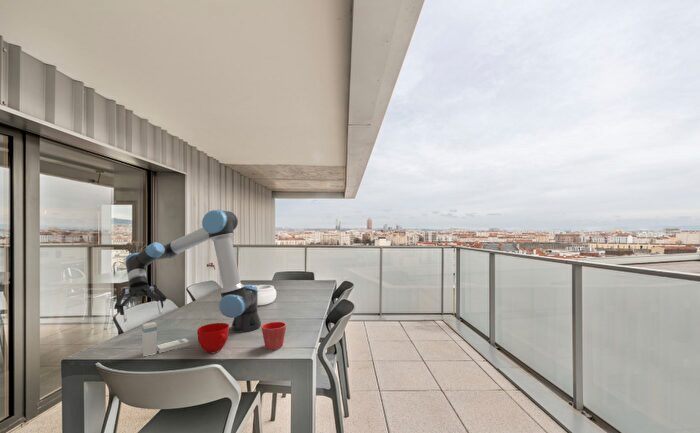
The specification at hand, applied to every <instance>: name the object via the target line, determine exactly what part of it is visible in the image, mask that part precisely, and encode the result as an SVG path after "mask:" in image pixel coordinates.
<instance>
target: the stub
mask: <svg viewBox="0 0 700 433" xmlns="http://www.w3.org/2000/svg"><path fill="white" fill-rule="evenodd" d="M141 331H142V332H141V335H142V336H141V354H142V353H143V355H144V356H146V355H149V354H153V353H158V352H157V345H158V342H157V340H158V339H157V337H158V335H157V334H158V332H157V331H158V324H157V322H156V321H152V322H146V323H145V322H144V323H142V327H141ZM143 355H142V356H143ZM144 356H143V357H144Z"/></svg>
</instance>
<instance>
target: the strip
mask: <svg viewBox="0 0 700 433" xmlns="http://www.w3.org/2000/svg"><path fill="white" fill-rule="evenodd" d="M186 346H187V347H190V341H189V340H188V339H187V338H181V339H176V340H173V341H169V342H165V343H161V344H157V350H158V352H159V353H160V352H163V351H168V350H172V349H175V350H178V349H177V348H179V349H183V348H186ZM182 347H183V348H182ZM172 351H173V350H172ZM158 352H157V353H158ZM168 352H169V351H168ZM159 353H158V354H159Z"/></svg>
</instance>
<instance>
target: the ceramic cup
mask: <svg viewBox="0 0 700 433" xmlns="http://www.w3.org/2000/svg"><path fill="white" fill-rule="evenodd" d="M229 331H230V325H229V324H228V323H225V322H216V323H210V324H204V325H201V326H200V327H198V328H197V330H196V335H197V341H198V344H199V346H200V348H201V349H202V350H203V351H204V352H205V353H206V352H208V353H207V354H213V353H212V352H214V353H218V352H221V351H222V348H223V347H224V346H225V345H226V344H227V341H228V338H229V333H230V332H229ZM217 351H218V352H217Z"/></svg>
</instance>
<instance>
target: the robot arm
mask: <svg viewBox="0 0 700 433" xmlns="http://www.w3.org/2000/svg"><path fill="white" fill-rule="evenodd" d="M238 223H239V219H238V217H237V215H236V214H235V213H233V212H232V211H228V210H221V209H214V210H213V209H212V210H209V211H207V212H206V213H205V215H204V216H203V218H202V220H201V225H202V227H201V228H197V229H196V230H194V231H192V232H190V233H188V234H186V235H183V236H181V237H179V238H177V239H175V240H173V241H171V242H169V243H166V244H162V243H160V242H158V241H155V242H152V243H150V244H149V245H147V246H146V247H145V248H144V249H142V250H141V251H140V252H133V253H131V254H128V255H127V256H126V258H125V268H126V272H127V273H126V275H127V281H128V288H129V289H126V288H122V289H121V292H120V296H119V297H118V298H117V301H116V302H115V303H114V308H113V309H114V310H118V311H119V315H120V316H122V317H123V323H126V322H127V320H128V315H127V308H126V306H127V305H128V304H129V303H130V301H132V300H133V299H134V298H140V297H147V298H149V299H152V300H153V301H155V302H157V309H158V314H159V316H162V315H163V309H164V306H165V305H164V302H166V300H167V296H166V295H165V294H164V293H163V292H162V291H161V290H160V289H159V288H158V287H157V285H156V284H153V286H150V285H149V282H148V277H147V272H146V268H147V266H150V264H152V263H153V262H154V261H158V260H165V259H172V258H175V257H177V256H178V255H179V254H181V253H183V252H185V251H187V250H189V249H191V248H194V247H195V246H197V245H200V244H202V243H205V242H207V241H208V240H211V241H212V242H213V245H214V251H215V256H216V261H217V265H218V271H219V276H220V280H221V285H222V289H221V291H220V296H221V297H220V298H221V299H220V301H219V303H218V308H219V311H220V313H221V314H222V315H223V316H225V317H226V318H233V320H232V323H231V330H232V331H233V332H236V333H245V332H252V331H255V330H258V329H260V328H262V323H261V322H262V321H261V319H260V318H261V317H260V315H259V312H258V302H259V301H258V291H259V290H258V286H257V285H256V284H242V282H241V277H240V274H239V268H238V263H237V258H236V254H235V249H234V244H233V239H232V237H233V235H234V231H235V229H237V227H238ZM128 293H129V295H128V296H127V297H126V298H125V295H127V294H128ZM124 298H125V299H124ZM122 301H123V302H122Z"/></svg>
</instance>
